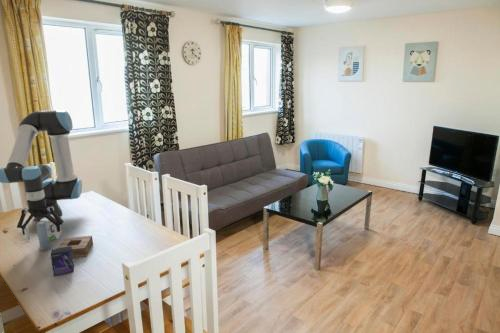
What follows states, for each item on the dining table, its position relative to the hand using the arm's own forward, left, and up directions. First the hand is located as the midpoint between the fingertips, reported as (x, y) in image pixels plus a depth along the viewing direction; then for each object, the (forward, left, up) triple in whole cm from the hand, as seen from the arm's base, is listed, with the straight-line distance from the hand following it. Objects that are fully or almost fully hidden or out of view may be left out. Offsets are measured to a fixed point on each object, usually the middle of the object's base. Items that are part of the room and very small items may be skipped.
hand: (43, 238), depth 171 cm
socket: (+6, +16, -6) cm, 18 cm away
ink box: (-13, -1, -6) cm, 15 cm away
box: (+23, +16, -6) cm, 29 cm away
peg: (0, 0, -6) cm, 6 cm away
